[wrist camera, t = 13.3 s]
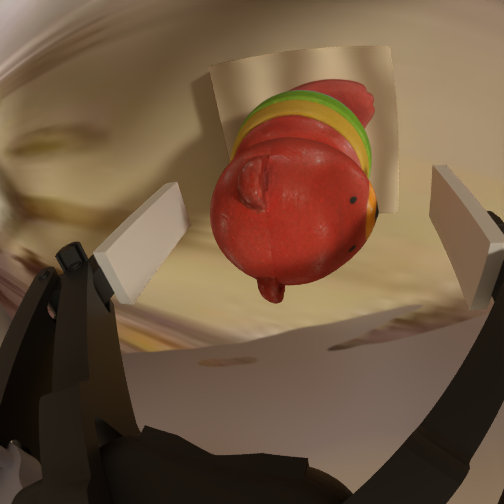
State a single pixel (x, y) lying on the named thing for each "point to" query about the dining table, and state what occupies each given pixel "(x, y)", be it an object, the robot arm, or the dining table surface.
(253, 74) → the maple block
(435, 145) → the dining table surface
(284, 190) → the stacking bear
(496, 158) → the dining table surface
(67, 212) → the dining table surface
